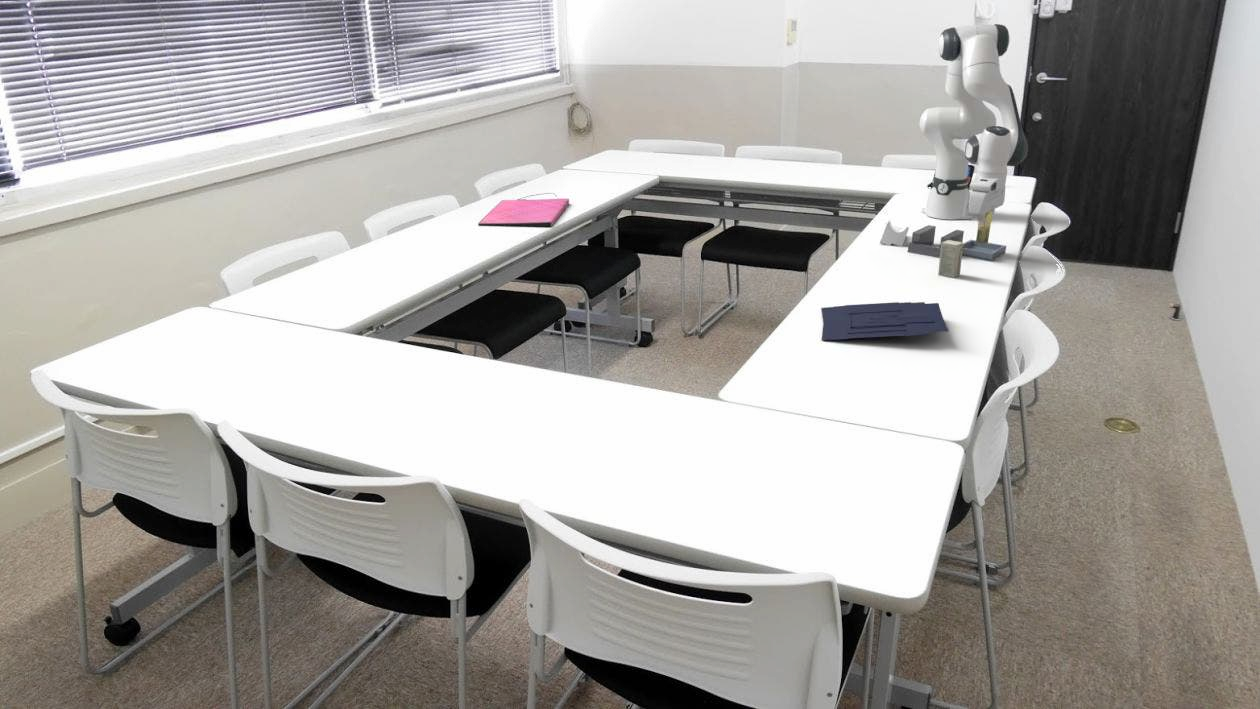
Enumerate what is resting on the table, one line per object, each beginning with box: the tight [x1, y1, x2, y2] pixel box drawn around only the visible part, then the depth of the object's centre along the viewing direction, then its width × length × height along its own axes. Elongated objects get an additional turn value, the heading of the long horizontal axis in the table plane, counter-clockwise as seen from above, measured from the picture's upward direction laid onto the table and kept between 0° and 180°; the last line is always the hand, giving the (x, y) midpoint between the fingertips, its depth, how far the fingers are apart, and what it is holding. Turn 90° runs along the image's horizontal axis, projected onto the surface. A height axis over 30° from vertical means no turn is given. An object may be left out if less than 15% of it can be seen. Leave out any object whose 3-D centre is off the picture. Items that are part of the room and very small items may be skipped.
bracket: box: [879, 219, 910, 247], centre depth 308 cm, size 13×7×8 cm, turn 163°
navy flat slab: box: [820, 301, 949, 341], centre depth 234 cm, size 24×30×4 cm
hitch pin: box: [975, 209, 993, 243], centre depth 289 cm, size 4×4×12 cm
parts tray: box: [962, 239, 1007, 262], centre depth 293 cm, size 12×12×2 cm
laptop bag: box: [477, 192, 570, 228], centre depth 349 cm, size 40×4×27 cm
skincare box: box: [937, 240, 964, 278], centre depth 272 cm, size 5×4×10 cm
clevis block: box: [907, 224, 965, 259], centre depth 296 cm, size 14×12×6 cm
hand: (984, 224), depth 289 cm, fingers closed on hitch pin, 4 cm apart
